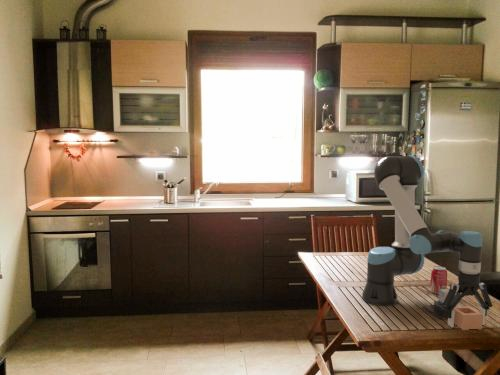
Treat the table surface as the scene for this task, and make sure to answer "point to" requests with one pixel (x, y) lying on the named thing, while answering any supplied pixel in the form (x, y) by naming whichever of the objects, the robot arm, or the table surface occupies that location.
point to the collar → (467, 318)
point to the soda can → (438, 279)
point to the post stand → (438, 305)
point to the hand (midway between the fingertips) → (465, 325)
